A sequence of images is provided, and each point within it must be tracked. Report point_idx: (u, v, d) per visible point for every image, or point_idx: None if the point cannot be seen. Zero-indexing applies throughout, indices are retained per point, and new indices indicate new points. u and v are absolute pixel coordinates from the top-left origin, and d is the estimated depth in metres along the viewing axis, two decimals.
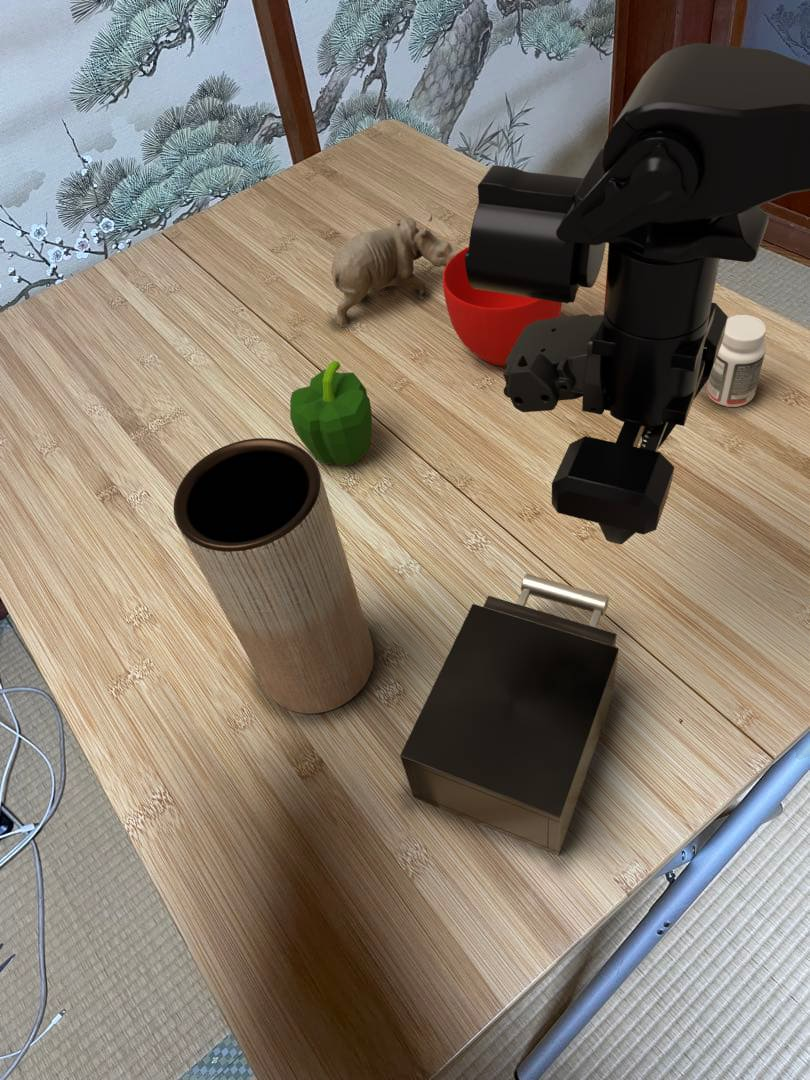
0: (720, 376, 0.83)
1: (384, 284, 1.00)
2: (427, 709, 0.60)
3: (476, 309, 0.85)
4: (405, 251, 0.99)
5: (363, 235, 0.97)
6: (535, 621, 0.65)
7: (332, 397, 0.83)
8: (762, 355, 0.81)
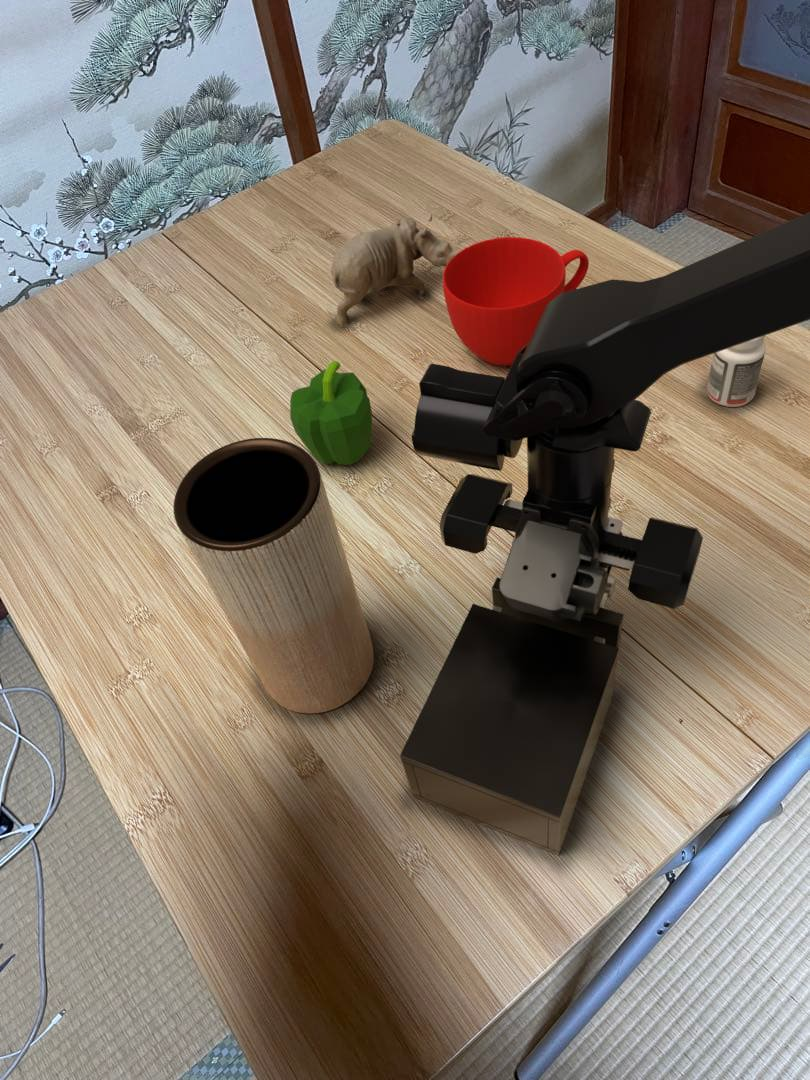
0: (720, 376, 0.83)
1: (384, 284, 1.00)
2: (427, 709, 0.60)
3: (476, 309, 0.85)
4: (405, 251, 0.99)
5: (363, 235, 0.97)
6: None
7: (332, 397, 0.83)
8: (762, 355, 0.81)
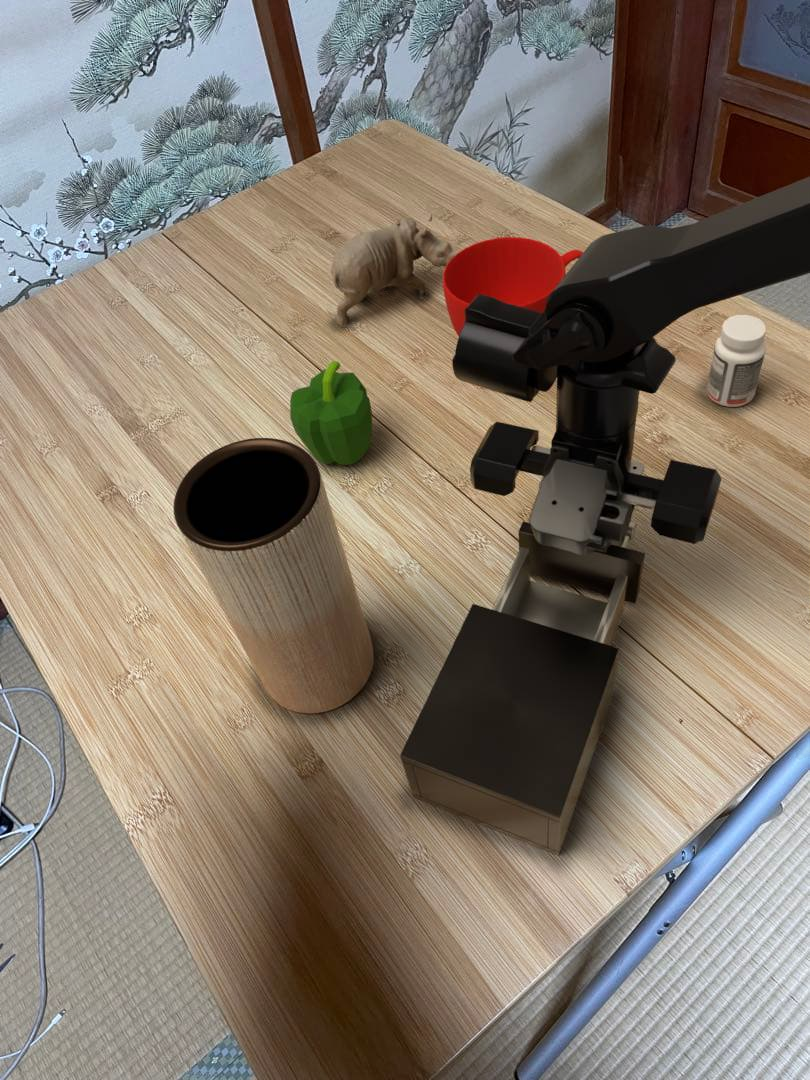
0: (720, 376, 0.83)
1: (384, 284, 1.00)
2: (427, 709, 0.60)
3: None
4: (405, 251, 0.99)
5: (363, 235, 0.97)
6: None
7: (332, 397, 0.83)
8: (762, 355, 0.81)
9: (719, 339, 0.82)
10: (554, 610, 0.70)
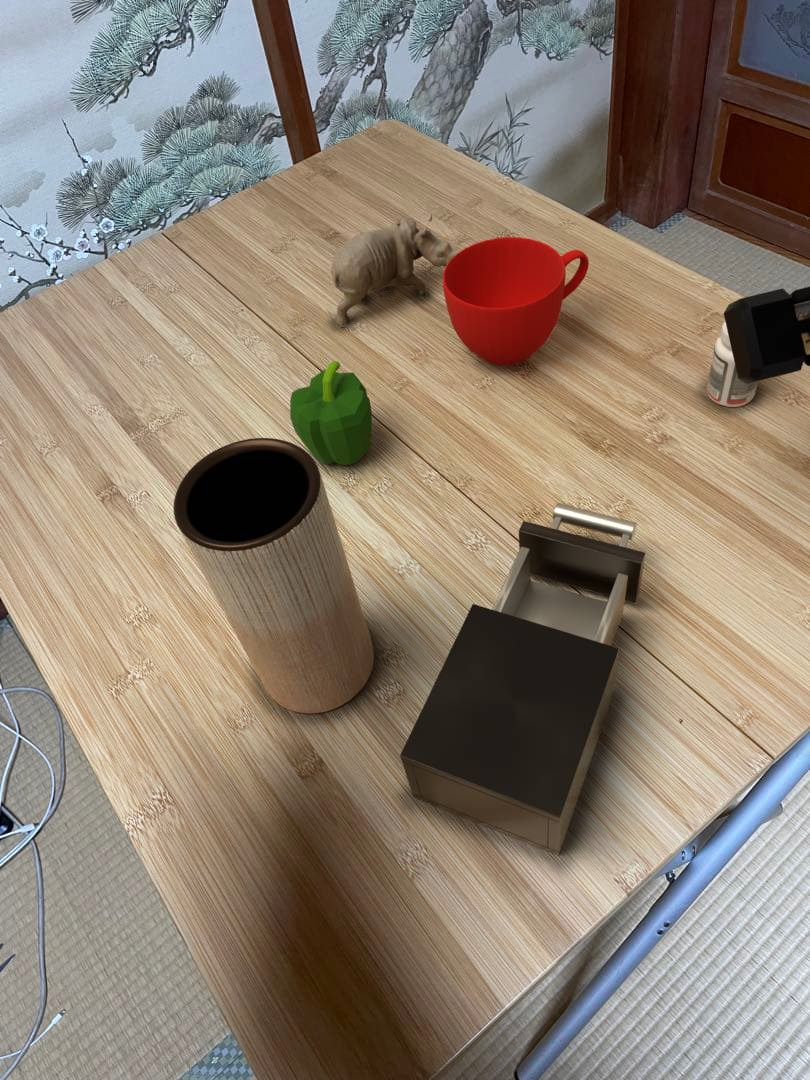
0: (720, 376, 0.83)
1: (384, 284, 1.00)
2: (427, 709, 0.60)
3: (476, 309, 0.85)
4: (405, 251, 0.99)
5: (363, 235, 0.97)
6: (568, 542, 0.69)
7: (332, 397, 0.83)
8: None
9: (719, 339, 0.82)
10: (554, 610, 0.71)
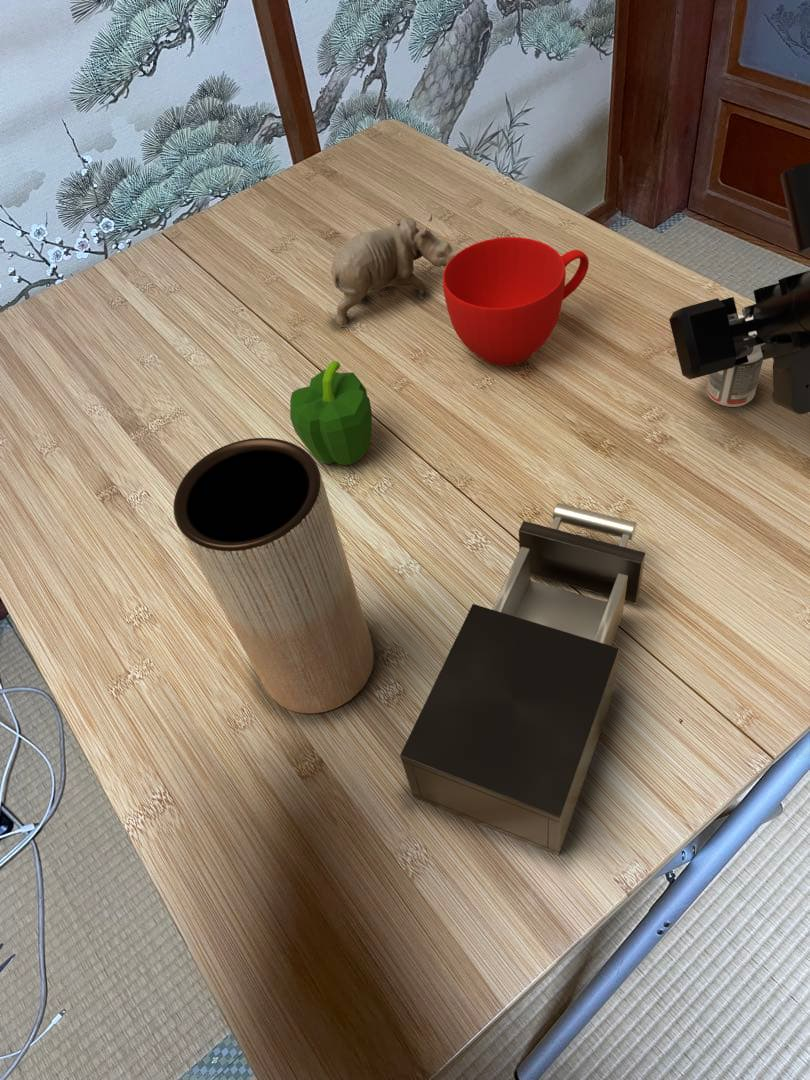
0: (720, 376, 0.83)
1: (384, 284, 1.00)
2: (427, 709, 0.60)
3: (476, 309, 0.85)
4: (405, 251, 0.99)
5: (363, 235, 0.97)
6: (568, 542, 0.69)
7: (332, 397, 0.83)
8: None
9: None
10: (554, 610, 0.71)
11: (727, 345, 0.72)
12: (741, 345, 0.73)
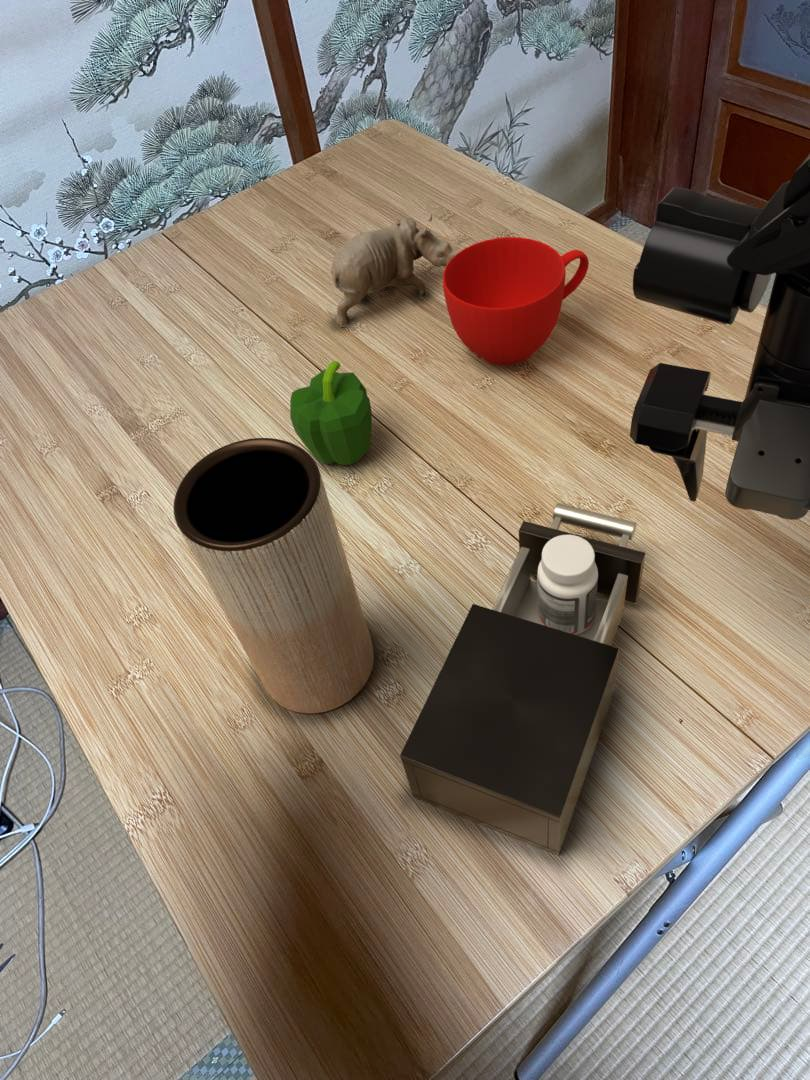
0: (571, 613, 0.66)
1: (384, 284, 1.00)
2: (427, 709, 0.60)
3: (476, 309, 0.85)
4: (405, 251, 0.99)
5: (363, 235, 0.97)
6: None
7: (332, 397, 0.83)
8: (595, 565, 0.66)
9: (546, 581, 0.65)
10: None
11: (689, 402, 0.54)
12: None
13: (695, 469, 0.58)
